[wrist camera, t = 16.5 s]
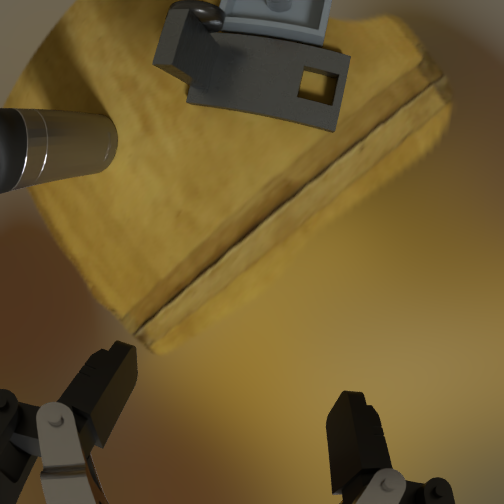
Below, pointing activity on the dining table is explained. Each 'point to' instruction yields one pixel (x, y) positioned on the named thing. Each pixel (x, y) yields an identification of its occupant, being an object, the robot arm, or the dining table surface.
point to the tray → (278, 20)
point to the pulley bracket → (246, 67)
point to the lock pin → (279, 5)
